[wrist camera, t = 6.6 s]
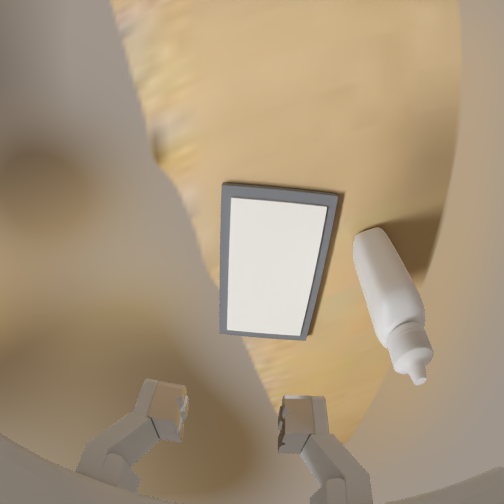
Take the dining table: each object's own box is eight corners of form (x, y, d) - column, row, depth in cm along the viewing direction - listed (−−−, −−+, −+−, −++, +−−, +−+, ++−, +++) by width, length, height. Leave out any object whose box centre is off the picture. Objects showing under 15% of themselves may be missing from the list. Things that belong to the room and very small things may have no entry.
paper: (231, 196, 21) (231, 197, 20) (326, 205, 21) (327, 207, 20) (227, 328, 27) (227, 329, 27) (299, 334, 27) (299, 335, 27)
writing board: (223, 182, 21) (221, 185, 20) (336, 193, 21) (338, 196, 20) (220, 329, 28) (219, 333, 27) (305, 336, 28) (305, 340, 27)
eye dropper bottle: (407, 229, 21) (477, 344, 11) (386, 286, 24) (427, 405, 14) (357, 221, 22) (409, 345, 11) (339, 281, 24) (364, 410, 14)
